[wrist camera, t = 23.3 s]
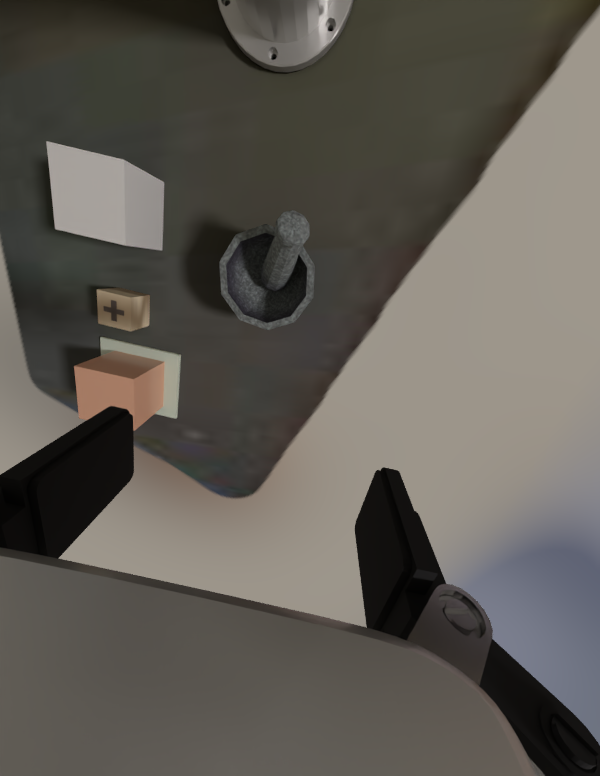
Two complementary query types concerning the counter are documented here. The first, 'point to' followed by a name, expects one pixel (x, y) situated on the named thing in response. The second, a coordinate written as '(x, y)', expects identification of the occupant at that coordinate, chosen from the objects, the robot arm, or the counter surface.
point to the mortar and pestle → (269, 272)
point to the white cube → (105, 198)
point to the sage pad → (168, 357)
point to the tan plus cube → (123, 308)
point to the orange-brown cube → (120, 385)
